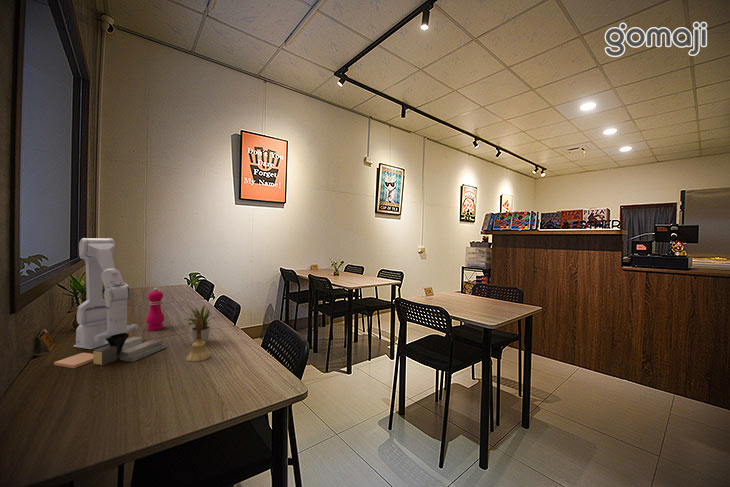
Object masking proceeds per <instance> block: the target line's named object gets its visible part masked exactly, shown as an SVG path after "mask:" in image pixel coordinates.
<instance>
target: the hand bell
mask: <svg viewBox="0 0 730 487" xmlns="http://www.w3.org/2000/svg"><path fill="white" fill-rule="evenodd" d="M195 319H196V318H195ZM194 327H195V328H196V331H197V336H196V337H197V338H196V342H195V343H194V342H193V343H192V344H191V350H190V353H189V354H188V355H187V356H186V357H185V360H186V361H187V362H192V363H193V362H194V363H195V362H202V361H206V360H208V359H209V358H210V357H212V354H211V352H209V351H208V349H207V345H206V343H205V342H203V341H201V331H202V328H203V320H202V317H201V314H200V315H199V316H197V319H196V322H195V324H194Z"/></svg>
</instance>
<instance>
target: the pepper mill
mask: <svg viewBox="0 0 730 487" xmlns="http://www.w3.org/2000/svg"><path fill="white" fill-rule="evenodd" d="M147 298H148V300H149V302H148V303H149V311H148V314H147V316H146V318H145V321H146V324H147V328H146V330H147V331H151V332H152V331H159V330H161V329H163V328H164V324H163V322H164V321H165V315H164V313H163V311H162V308H161V304H162V302H163V301H162V299H163V298H164V293H163V292H162V291H160V290H159V288H158V287H154V288H153V291H151V292H149V293H148V295H147Z"/></svg>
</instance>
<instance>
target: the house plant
mask: <svg viewBox="0 0 730 487" xmlns="http://www.w3.org/2000/svg"><path fill="white" fill-rule="evenodd" d="M185 308H186V309H189V310H191V311H192V313H193V314H192V313H190V312H188V311H186V314H188V315H190V316H191V317H190V316H189V317H187V318H185V319H183V320H184V321H185V323H186V322H187V323H186V326H188V328H189V327H190V326H192V325H193V326H194V327H191V333H192V340H193V343H195V342H196V338H197V337H196V336H197V331H196V328H195V322H196V319H197V316H199V315H201V317H202V320H203V328H202V331H201V341H203V342H205V344H206V343H208V341H209V340H208V339H209V334H210V331H211V326H210V325H211V322H209V321H210V320H212V319H215V318H216V317H217V316H216V317H215V316H212V317H211V318H209V317H210V316H211V311H210V310H211V307H209V306H207V308H206V304H203V305H202V308H201V310H200V311H199V310H198V308H195V310H194V309H192V308H191V307H185ZM205 309H206V310H205ZM208 318H209V319H208ZM216 319H217V318H216ZM189 321H190V322H189ZM208 322H209V323H208Z"/></svg>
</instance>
